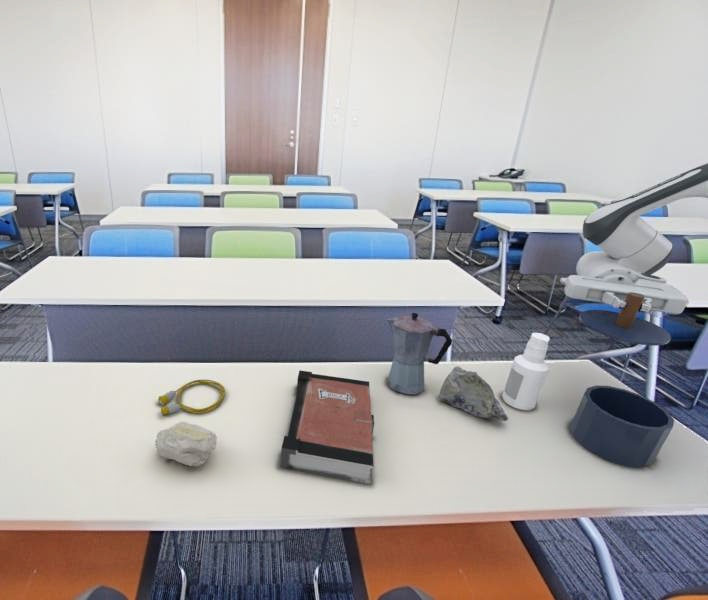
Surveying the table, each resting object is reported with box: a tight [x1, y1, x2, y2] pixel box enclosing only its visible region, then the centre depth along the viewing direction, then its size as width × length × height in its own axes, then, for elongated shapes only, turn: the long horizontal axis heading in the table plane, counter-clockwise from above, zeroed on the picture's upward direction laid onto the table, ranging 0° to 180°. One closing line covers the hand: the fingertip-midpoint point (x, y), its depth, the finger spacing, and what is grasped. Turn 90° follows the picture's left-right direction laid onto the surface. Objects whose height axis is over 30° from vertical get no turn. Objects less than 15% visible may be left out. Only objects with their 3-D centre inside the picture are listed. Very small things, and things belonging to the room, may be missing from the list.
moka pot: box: [386, 312, 453, 395], centre depth 97 cm, size 10×15×20 cm, turn 55°
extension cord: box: [157, 379, 226, 416], centre depth 95 cm, size 12×16×2 cm
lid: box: [578, 292, 672, 347], centre depth 82 cm, size 15×15×8 cm
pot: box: [569, 384, 675, 468], centre depth 82 cm, size 14×14×10 cm
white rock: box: [154, 421, 217, 467], centre depth 77 cm, size 12×8×10 cm
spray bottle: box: [501, 332, 551, 411], centre depth 92 cm, size 7×7×18 cm
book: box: [280, 369, 375, 485], centre depth 85 cm, size 26×18×5 cm
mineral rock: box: [438, 365, 509, 422], centre depth 90 cm, size 13×11×10 cm
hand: (633, 307), depth 81 cm, fingers closed on lid, 2 cm apart
